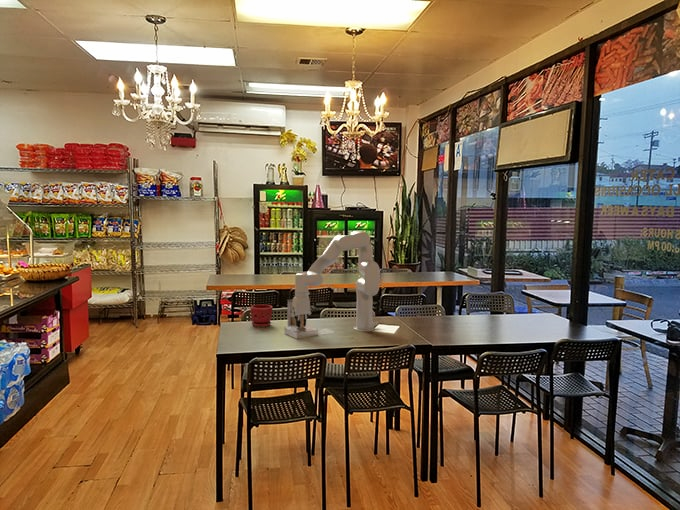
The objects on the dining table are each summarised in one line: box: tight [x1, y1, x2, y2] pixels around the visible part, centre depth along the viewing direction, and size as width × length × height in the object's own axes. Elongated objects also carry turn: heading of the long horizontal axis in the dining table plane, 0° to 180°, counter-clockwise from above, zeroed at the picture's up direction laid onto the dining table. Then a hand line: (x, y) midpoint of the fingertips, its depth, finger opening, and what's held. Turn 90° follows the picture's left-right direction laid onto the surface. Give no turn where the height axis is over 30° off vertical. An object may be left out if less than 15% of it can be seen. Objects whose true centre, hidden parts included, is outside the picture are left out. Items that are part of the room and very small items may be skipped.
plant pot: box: [250, 304, 273, 328], centre depth 286 cm, size 13×13×12 cm
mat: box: [318, 327, 336, 336], centre depth 274 cm, size 10×10×1 cm
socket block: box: [283, 324, 319, 340], centre depth 268 cm, size 14×14×4 cm
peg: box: [298, 315, 304, 330], centre depth 268 cm, size 3×3×10 cm
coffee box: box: [287, 298, 296, 327], centre depth 286 cm, size 9×6×16 cm
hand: (301, 326), depth 268 cm, fingers closed on peg, 3 cm apart
